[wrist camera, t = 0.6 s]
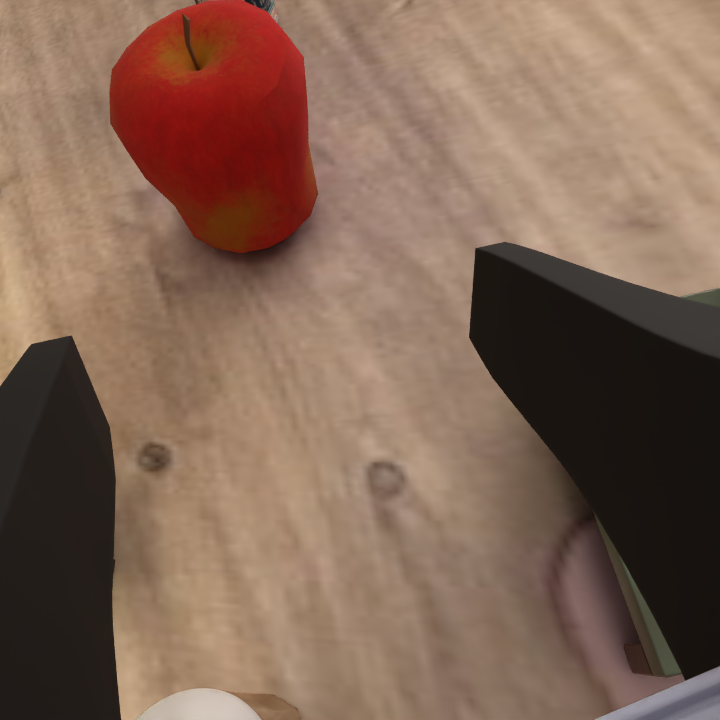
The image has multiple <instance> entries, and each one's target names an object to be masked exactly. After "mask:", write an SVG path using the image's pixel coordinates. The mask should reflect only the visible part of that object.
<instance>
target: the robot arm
mask: <svg viewBox="0 0 720 720" xmlns="http://www.w3.org/2000/svg"><path fill="white" fill-rule="evenodd" d="M469 338H470V340H471V342H472V343H473V345H474V347H475V349H476V351H477V352H478V354H479V356H480V358H481V360H482V361H483V363H484V365H485V366H486V368H487V369H488V371H489V373H490V374H491V376H492V378H493V379H494V380H495V381H496V383H497V384H498V385H499V387H500V388H501V389H502V390H503V392H504V393H505V394H506V395H507V397H508V398H509V399H510V401H511V402H512V403H513V404H514V406H515V407H516V408H517V409H518V411H519V412H520V413H521V414H522V415H523V417H524V418H525V419H526V420H527V422H528V423H529V424H530V425H531V427H532V428H533V429H534V430H535V431H536V433H537V434H538V435H539V436H540V438H541V439H542V440H543V441H544V443H545V444H546V445H547V446H548V447H549V449H550V450H551V451H552V452H553V454H554V455H555V456H556V457H557V459H558V460H559V461H560V463H561V464H562V465H563V467H564V468H565V469H566V471H567V472H568V473H569V475H570V476H571V478H572V479H573V481H574V482H575V484H576V485H577V487H578V488H579V490H580V492H581V493H582V495H583V496H584V498H585V499H586V501H587V503H588V504H589V506H590V507H591V509H592V510H593V512H594V513H595V515H596V517H597V518H598V520H599V522H600V523H601V525H602V527H603V528H604V530H605V532H606V533H607V535H608V537H609V538H610V540H611V542H612V543H613V545H614V547H615V548H616V550H617V552H618V553H619V555H620V557H621V558H622V560H623V562H624V564H625V565H626V567H627V569H628V571H629V573H630V574H631V576H632V578H633V580H634V582H635V584H636V585H637V587H638V589H639V591H640V593H641V595H642V596H643V598H644V600H645V602H646V604H647V605H648V607H649V609H650V611H651V613H652V615H653V616H654V618H655V620H656V622H657V624H658V626H659V628H660V630H661V632H662V634H663V636H664V638H665V640H666V642H667V644H668V646H669V648H670V650H671V652H672V654H673V656H674V658H675V660H676V662H677V664H678V666H679V668H680V670H681V672H682V674H683V677H684V679H685V681H684V682H681V683H679V684H677V685H674V686H672V687H670V688H667V689H665V690H663V691H660V692H658V693H656V694H653V695H651V696H648V697H646V698H644V699H641V700H639V701H637V702H634V703H632V704H630V705H627V706H625V707H623V708H620V709H618V710H616V711H613V712H611V713H609V714H606V715H604V716H602V717H599V718H597V719H595V720H720V307H719V306H715V305H710V304H706V303H701V302H697V301H692V300H688V299H684V298H681V297H677V296H673V295H669V294H666V293H662V292H659V291H655V290H652V289H649V288H645V287H642V286H639V285H635V284H632V283H629V282H626V281H623V280H620V279H617V278H614V277H611V276H608V275H605V274H602V273H599V272H596V271H593V270H590V269H587V268H584V267H582V266H579V265H576V264H573V263H570V262H567V261H565V260H562V259H559V258H556V257H553V256H550V255H548V254H545V253H542V252H539V251H536V250H533V249H529V248H526V247H523V246H519V245H516V244H511V243H507V242H503V243H498V244H493V245H489V246H484V247H480V248H476V250H475V264H474V277H473V291H472V305H471V319H470V333H469ZM115 485H116V477H115V468H114V458H113V450H112V441H111V433H110V427H109V424H108V422H107V420H106V417H105V415H104V412H103V410H102V408H101V405H100V403H99V400H98V398H97V395H96V393H95V391H94V388H93V386H92V383H91V381H90V379H89V376H88V374H87V371H86V369H85V367H84V364H83V362H82V359H81V357H80V354H79V352H78V350H77V347H76V345H75V342H74V340H73V338H72V336H67V337H62V338H58V339H53V340H48V341H44V342H39V343H35V344H31V346H30V347H29V348H28V349H27V350H26V352H25V353H24V354H23V356H22V357H21V359H20V360H19V361H18V363H17V364H16V365H15V367H14V368H13V370H12V371H11V372H10V374H9V375H8V377H7V378H6V379H5V381H4V382H3V383H2V385H1V386H0V720H121V715H120V704H119V694H118V684H117V672H116V660H115V647H114V635H113V617H112V587H113V556H114V525H115Z"/></svg>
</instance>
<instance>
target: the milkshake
mask: <svg viewBox="0 0 720 720" xmlns="http://www.w3.org/2000/svg"><path fill="white" fill-rule="evenodd" d="M136 720H302V719H301V716H300V714H299V711H298V709H297V708H296V707H294V706H293V705H291V704H289V703H287V702H286V701H284V700H282V699H281V698H279V697H277V696H276V695H273V694H254V693H236V692H229V691H224V690H218V689H210V688H196V689H189V690H184V691H181V692H178V693H175V694H172V695H170V696H168V697H166V698H164V699H162V700H161V701H159V702H157V703H156V704H154V705H153V706H151V707H150V708H148V709H147V710H146V711H145V712H143V713H142V714H141V715H140V716H139V717H138V718H137V719H136Z"/></svg>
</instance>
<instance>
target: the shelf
mask: <svg viewBox="0 0 720 720" xmlns="http://www.w3.org/2000/svg"><path fill="white" fill-rule="evenodd" d="M681 298H684V299H688V300H692V301H697V302H701V303H706V304H710V305H715V306H719V307H720V288H717V289H712V290H708V291H704V292H699V293H695V294H690V295H686V296H681ZM593 513H594V512H593ZM594 515H595V513H594ZM595 518H596V521H597V523H598V526H599V529H600V532H601V534H602V537H603V540H604V543H605V545H606V548H607V551H608V554H609V556H610V559H611V562H612V565H613V567H614V570H615V573H616V575H617V578H618V581H619V584H620V586H621V589H622V592H623V595H624V597H625V600H626V603H627V606H628V608H629V611H630V614H631V616H632V619H633V622H634V625H635V627H636V630H637V633H638V636H639V638H640V641H638V642H633V643H629V644H625V645H624V650H625V653H626V656H627V658H628V661H629V664H630V667H631V670H632V672H633V673H635V674H643V675H651V676H659V677H671V676H676V675H680V674H682V672H681V670H680V668H679V666H678V664H677V662H676V660H675V658H674V656H673V654H672V652H671V650H670V648H669V646H668V644H667V642H666V640H665V638H664V636H663V634H662V632H661V630H660V628H659V626H658V624H657V622H656V620H655V618H654V616H653V615H652V613H651V611H650V609H649V607H648V605H647V604H646V602H645V600H644V598H643V596H642V595H641V593H640V591H639V589H638V587H637V585H636V584H635V582H634V580H633V578H632V576H631V574H630V573H629V571H628V569H627V567H626V565H625V564H624V562H623V560H622V558H621V557H620V555H619V553H618V552H617V550H616V548H615V547H614V545H613V543H612V542H611V540H610V538H609V537H608V535H607V533H606V532H605V530H604V528H603V527H602V525H601V523H600V522H599V520H598V518H597V517H596V515H595Z"/></svg>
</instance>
